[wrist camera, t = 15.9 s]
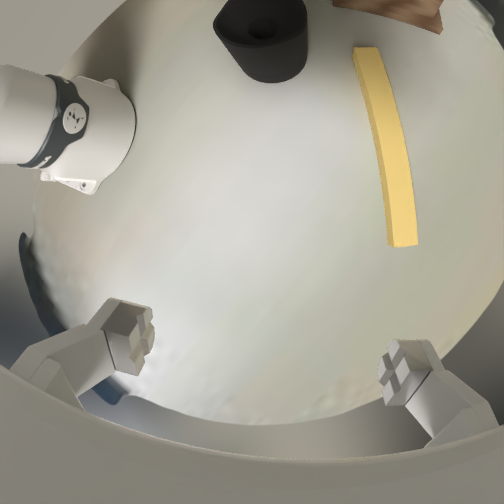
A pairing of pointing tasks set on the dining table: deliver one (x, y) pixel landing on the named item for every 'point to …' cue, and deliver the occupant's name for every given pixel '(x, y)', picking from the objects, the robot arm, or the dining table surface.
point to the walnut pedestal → (401, 11)
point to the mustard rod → (388, 147)
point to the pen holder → (265, 37)
